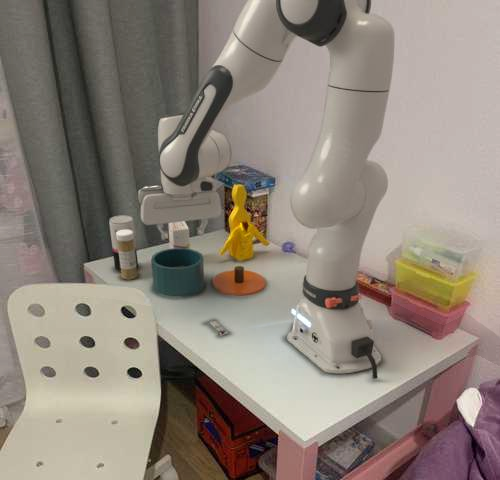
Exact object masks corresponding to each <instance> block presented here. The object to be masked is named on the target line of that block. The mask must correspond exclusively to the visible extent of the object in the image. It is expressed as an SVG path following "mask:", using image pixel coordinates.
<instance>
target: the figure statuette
mask: <svg viewBox="0 0 500 480" xmlns="http://www.w3.org/2000/svg"><path fill="white" fill-rule="evenodd" d="M232 186H233V187H232V191H231V199H232V201H233V204H234V207H233V209H232V211H231V213H230V214H229V217H228V226H229V230H230V231H229V236H228V238H227V239H226V241H225V243H224V245H223V246H222V248H221V250H220V251H219V254H218V255H220V256H223V255H224V254H225V253H226V252H227V251H228V254H229V256H231V257H232V258H233V259H235V260H237V261H245V260H250V259H252V258H254V257H255V256H254V255H255V254H254V244H253V242H254V241H253V239H254V237H255V238H256V239H257V240H258V241H259V242H260V243H261V244H262V245H264V246H265V247H266V246H270V245H271V244H270V242H269V241H268V239H267V238H265V236H264V235H263V234H262V233H261V232H260V231H259V229H258V228H257V227H256V225H255V224H254V223H251V222H252V217H251V215H250V214H249V212H248V211H247V209H246V208H245V203H246V200H247V196H248V195H247V194H248V193H247V190H246V188H245V185H243V184H239V183H238V184H233V185H232Z"/></svg>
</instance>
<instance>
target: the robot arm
mask: <svg viewBox="0 0 500 480" xmlns="http://www.w3.org/2000/svg"><path fill="white" fill-rule="evenodd" d="M371 9H372V0H247V1H246V2H245V5H243V8H242V10H241V12H240V13H239V16H238V17H237V20H236V22H235V24H234V26H233V28H232V31H231V33H230V35H229V37H228V39H227V41H226V43H225V45H224V47H223V49H222V51H221V53H220V55H219V56H218V57H217V59H216V61H215V62H214V63H213V65H212V66H211V68H209V70H208V72H207V73H206V75H205V76H204V78H202V81H201V82H200V84H199V86H198V87H197V89H196V90H195V92H194V94H193V96H192V98H191V99H190V102H189V104H188V106H187V107H186V109H185V111H184V112H177V113H170V114H166V115H163V116H161V118H160V119H159V120H158V121H159V122H158V126H157V146H158V147H157V148H158V165H159V168H160V170H159V171H160V183H161V184H158V185H157V184H155V185H145V186H143V187H142V188H140V189H139V190H138V192H137V200H138V201H137V202H138V203H139V205H140V219H141V222H142V223H143V224H144V225H145V226H152V225H155V226H156V228H157V230H158V231H159V233H160V236H161V240H162V241H167V240H169V232H168V231H167V230H163V228H164V224H169V223H173V222H182V221H185V222H191V221H199V220H200V221H201V224H200V226H198V227H196V234H197V236H198V237H200V236H205V229H206V227H207V225H208V223H209V219H216V218H220V217H221V214H222V203H221V197H220V195H219V192H217V189H218V188H217V185H218V184H217V182H216V181H215V180H214V179H213V178H211V177H210V176H213V175H216V174H219V173H221V172H223V171H226V169H228V167H229V166H230V164H231V161H232V147H231V144H230V142H229V139H228V138H227V137H226V135H225V134H223V133H222V132H221V131H218V130H214V127H215V125H216V123H217V122H218V120H219V119H220V117H221V116H222V115H223V114H224V113H225V112H226V111H227V110H228V109H229V108H231V107H232V106H233V105H236V104H237V103H239V102H241V101H242V100H245V99H246V98H249V97H251V96H252V95H255V94H257V93H259V92H261V91H262V90H264V89H265V88H266V87H267V86H268V84H269V83H270V82H271V80H272V79H274V77H275V76H276V74H277V73H278V71H279V70H280V67H281V65H282V63H283V61H284V59H285V58H286V55H287V53H288V52H289V50H290V48H291V46H292V44H293V43H294V41H295V40H296V38H298V37H299V38H300V39H303V40H305V41H307V42H309V43H311V44H313V45H314V46H317V47H319V48H321V47H324V46H325V47H326V48H327V51H328V53H329V60H330V61H329V71H328V79H327V85H326V93H325V98H324V108H323V113H322V120H321V125H320V131H319V134H318V138H317V140H316V143H315V146H314V149H313V152H312V154H311V156H310V160H309V162H308V163H307V166H306V169H305V170H304V172H303V174H302V175H301V178H300V179H299V180H298V181H297V182H296V183H295V185H294V186H293V188H292V190H291V193H290V196H289V197H290V198H289V199H290V200H289V204H290V209H291V212H292V215H293V217H294V219H296V221H297V222H298V223H299V224H300V225H302V226H303V227H304V228H307V229H313V230H314V229H315V230H316V232H315V234H314V235H313V236H312V238H311V240H310V242H309V245H308V248H307V249H308V250H307V260H306V261H307V262H306V272H305V275H304V276H303V281H302V297H301V299H300V301H299V302H298V304H297V305H296V307H295V309H294V308H291V314H293V316H294V317H293V318H294V319H293V323H292V330H291V331H289V332H288V334H287V337H286V340H287V342H289V343H290V344H291V345H292V346H293V347H294V348H296V349H297V350H298V351H299V352H300V353H302V354H303V355H304V356H305V357H307V358H308V359H309V360H310V361H311V362H312V363H314V364H315V365H316V366H317V367H318V368H319V369H321V370H322V371H323V372H324V373H329V374H339V375H340V374H350V373H357V372H362V371H366V370H369V369H371V372H372V379H378V367H377V365H379V364H380V363H381V362H382V355H381V354H380V352H379V351H378V349H377V348H376V346H375V345H374V343H375V341H374V340H373V332H372V330H373V321H372V320H371V319H367V318H366V316H365V314H364V308H363V307H361V305H360V302H359V301H361V300H362V298H360V297H362V294H360V287H359V282H358V275H359V268H360V261H361V255H362V251H363V247H364V244H365V242H366V238H367V235H368V232H369V230H370V227H371V225H372V222H373V219H374V217H375V215H376V211H377V209H378V207H379V205H380V204H381V201H382V200H383V198H384V197H385V195H386V194H387V191H388V186H389V179H388V176H387V175H388V174H387V172H386V171H385V169H384V167H382V166H381V164H379V163H378V162H376V161H374V160H369V159H368V158H369V155H370V154H371V152H372V150H373V148H374V147H375V145H376V144H377V142H378V141H379V139H380V137H381V136H382V135H381V134H382V132H383V125H384V122H385V116H386V111H387V106H388V100H389V94H390V89H391V84H392V77H393V70H394V59H395V30H394V27H393V25H392V24H391V23H390V21H388V20H387V19H386V18H384V17H382V16H380V15H378V14H373V13H370V12H371Z"/></svg>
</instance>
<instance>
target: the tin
mask: <svg viewBox="0 0 500 480" xmlns="http://www.w3.org/2000/svg"><path fill="white" fill-rule="evenodd" d="M150 261H151V272H152V285H153V290H154V292H155V293H156V294H160V295H162V296H167V297H176V298H177V297H187V296H188V297H189V296H191V295H194V294H197V293H199V292H201V291H202V290H203V288H205V266H204V263H205V262H204V256H203V253H201V252H199V251H198V250H195V249H192V248H190V249H186V248H172V249H170V248H167V249H163V250H159V251H157V252H155V253H154V254H153V255H152V256H151V260H150ZM184 265H185V267H180V268H171V267H175V266H184Z"/></svg>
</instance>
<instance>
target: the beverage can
mask: <svg viewBox="0 0 500 480" xmlns="http://www.w3.org/2000/svg"><path fill="white" fill-rule="evenodd" d="M108 223H109V224H108V225H109V232H110V239H111V246H112V254H113V262H114V269H115V270H116V271H118V272H119V273H121V267H120V259H119V251H118V241H117V238H116V232H117V231H119V230H131V231H133V235H134V238H133V239H134V240H133V241H134V248H135V256H136V268H137V269H138V267H139V262H138V251H137V243H136V232H135V223H134V220H133V217H132V216H131V215H123V214H122V215H115V216H112V217H110V218H109V222H108Z"/></svg>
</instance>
